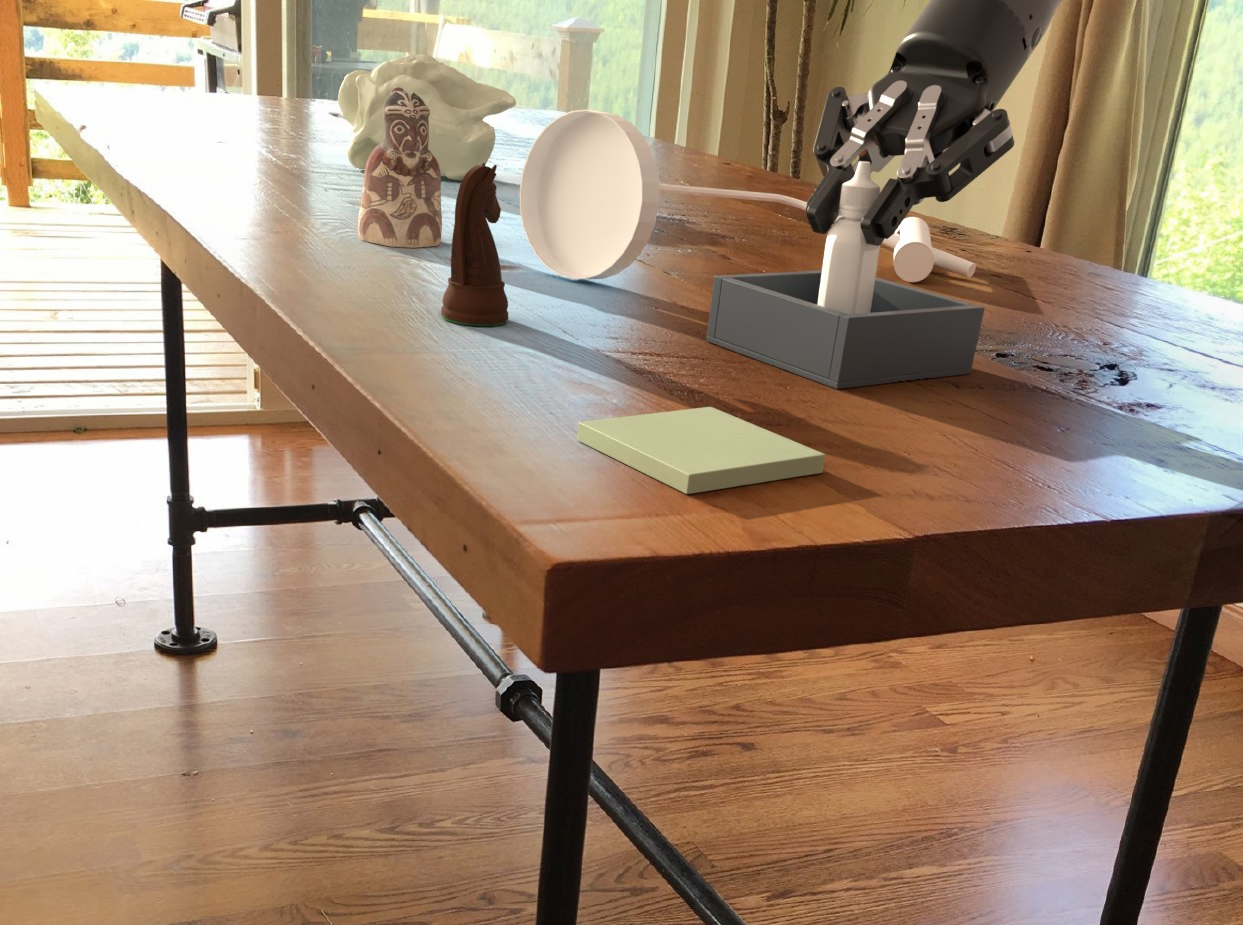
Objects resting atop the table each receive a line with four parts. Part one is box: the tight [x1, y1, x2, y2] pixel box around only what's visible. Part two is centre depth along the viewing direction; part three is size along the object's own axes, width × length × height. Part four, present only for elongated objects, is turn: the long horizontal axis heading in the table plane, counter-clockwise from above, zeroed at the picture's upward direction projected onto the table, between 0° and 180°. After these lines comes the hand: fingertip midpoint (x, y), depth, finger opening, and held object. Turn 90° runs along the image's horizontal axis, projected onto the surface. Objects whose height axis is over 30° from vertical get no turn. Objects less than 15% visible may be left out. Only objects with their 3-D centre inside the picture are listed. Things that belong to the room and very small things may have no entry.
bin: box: [705, 269, 986, 390], centre depth 95 cm, size 13×13×4 cm
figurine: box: [357, 87, 443, 249], centre depth 119 cm, size 7×7×12 cm
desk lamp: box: [519, 109, 977, 283], centre depth 123 cm, size 12×22×45 cm
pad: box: [576, 406, 826, 495], centre depth 72 cm, size 9×9×1 cm
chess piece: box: [440, 163, 509, 327], centre depth 95 cm, size 5×5×10 cm
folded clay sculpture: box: [337, 53, 517, 181], centre depth 159 cm, size 18×13×16 cm
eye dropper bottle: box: [817, 161, 881, 314], centre depth 93 cm, size 4×6×12 cm
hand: (842, 229), depth 91 cm, fingers closed on eye dropper bottle, 3 cm apart
